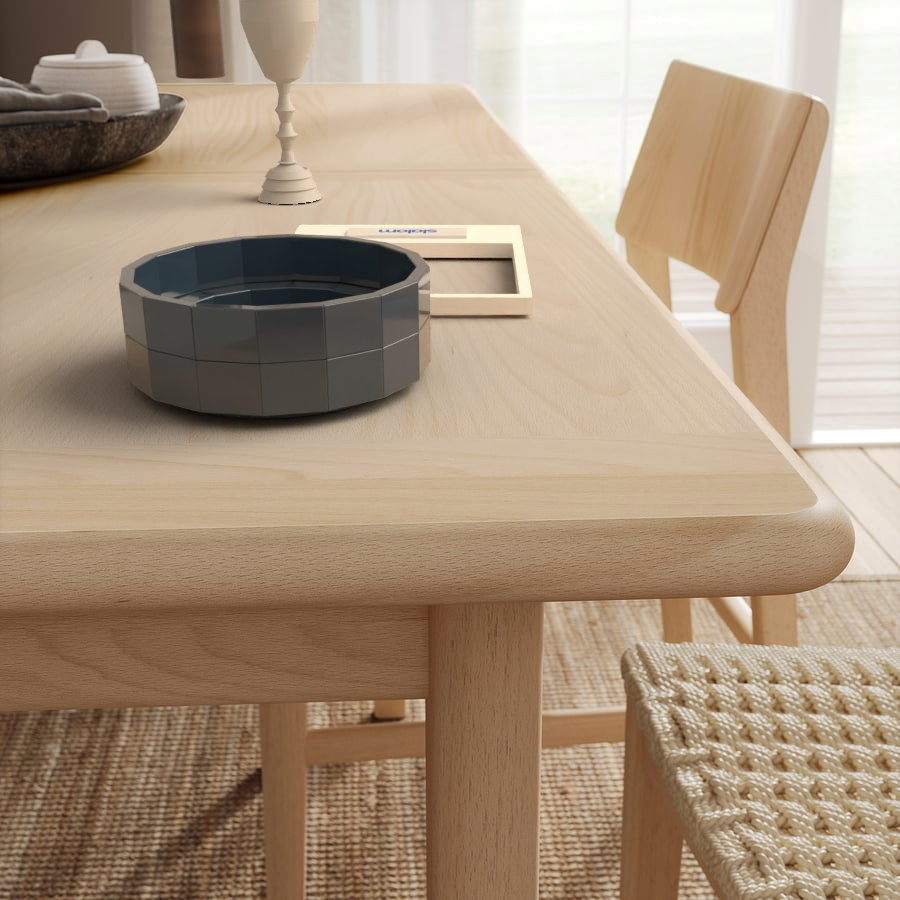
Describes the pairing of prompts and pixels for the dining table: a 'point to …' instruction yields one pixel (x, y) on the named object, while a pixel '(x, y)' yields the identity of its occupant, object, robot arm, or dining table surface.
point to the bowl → (276, 324)
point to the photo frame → (453, 245)
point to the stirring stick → (197, 38)
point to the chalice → (283, 83)
